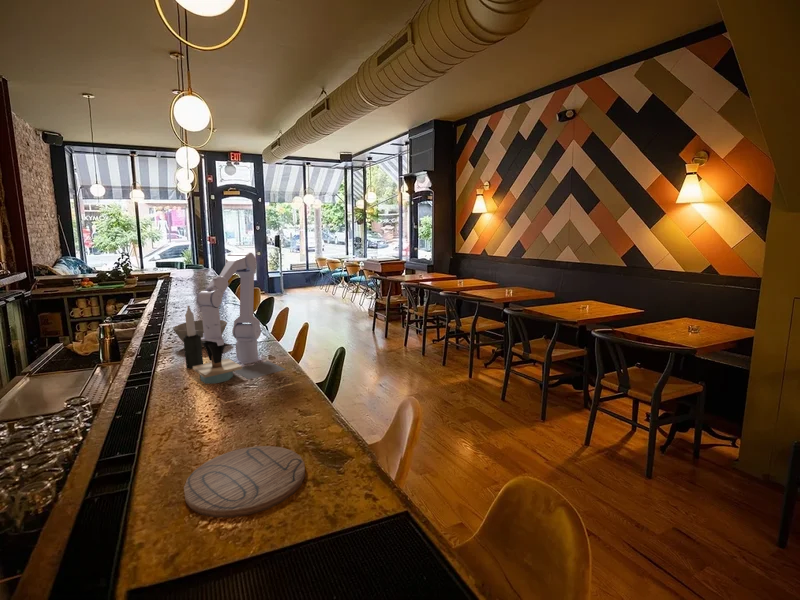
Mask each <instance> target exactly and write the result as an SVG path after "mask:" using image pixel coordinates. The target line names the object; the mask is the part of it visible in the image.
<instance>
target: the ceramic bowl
mask: <svg viewBox="0 0 800 600" xmlns="http://www.w3.org/2000/svg"><path fill="white" fill-rule="evenodd" d="M194 323H195V332H196V334H198V335H200V337H201V338H203V333H204V330H203V321H202V319H201V320H194ZM220 325H221V335H222V336H223V334H224V331H225V330H226V328H227V325H228V321H226V320H222V319H220ZM172 330H173V332H175V335H176V336H177V337H178V339H179V340H180V341H181V342H182V343H184V341H183V338H184V337H185V335H187V327H186V322H183V323H180V324H177V325H175V326H173V328H172ZM205 341H206V340H205ZM202 342H204V341H202V340H201V346H202V348H205V347H204V345H203V344H202Z"/></svg>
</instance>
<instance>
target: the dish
mask: <svg viewBox="0 0 800 600" xmlns="http://www.w3.org/2000/svg"><path fill="white" fill-rule="evenodd" d="M233 372H234V371H231V372H227V373H223V374H219V375H215V376H210V377H206V378H204V377H203V376H202V375H200V374H199V376H200V382H202V383H204V384H218V383H219V384H220V383H224V382H227V381H229V380H230V379H232V378H233V377H234V373H233Z"/></svg>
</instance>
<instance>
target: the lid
mask: <svg viewBox="0 0 800 600" xmlns="http://www.w3.org/2000/svg"><path fill="white" fill-rule="evenodd" d="M211 359H212V361H211V362H206V363H203V364H201V365H197V366H192V367H193V369H192V370H193V371H194V372H196V373H197V374H199V376H200V375H202V376H203V377H204V378H206V377H210V376H215V375H219V374H223V373H227V372H231V371H233V372H234V371H236V370H240V369H242V367H243V366H242V365H241V364H239V363H238V362H235V361H233V360H232V359H230V358H225V359H221V362H219V363H214V360H213V356H211Z"/></svg>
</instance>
